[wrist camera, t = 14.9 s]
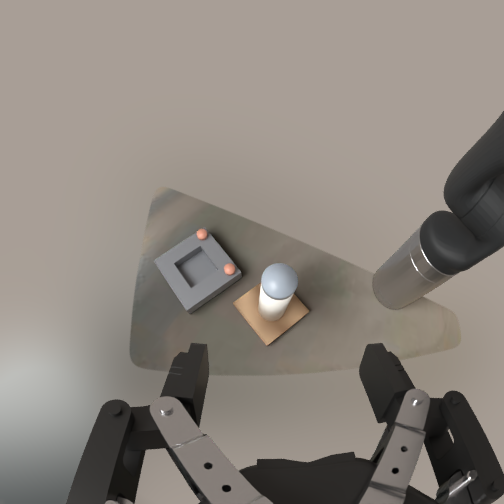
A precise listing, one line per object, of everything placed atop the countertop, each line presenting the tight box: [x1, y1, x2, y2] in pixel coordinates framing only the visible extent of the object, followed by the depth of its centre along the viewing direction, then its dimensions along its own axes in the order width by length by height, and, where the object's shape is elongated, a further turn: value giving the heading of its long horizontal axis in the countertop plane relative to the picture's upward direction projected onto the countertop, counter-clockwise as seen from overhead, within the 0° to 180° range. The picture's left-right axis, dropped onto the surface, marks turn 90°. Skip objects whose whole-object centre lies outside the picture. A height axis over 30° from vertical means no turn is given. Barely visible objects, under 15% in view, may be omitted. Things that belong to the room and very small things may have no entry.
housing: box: [154, 227, 242, 314], centre depth 47 cm, size 11×11×4 cm
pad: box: [233, 283, 309, 346], centre depth 46 cm, size 9×9×1 cm
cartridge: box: [258, 263, 298, 321], centre depth 39 cm, size 4×4×13 cm
